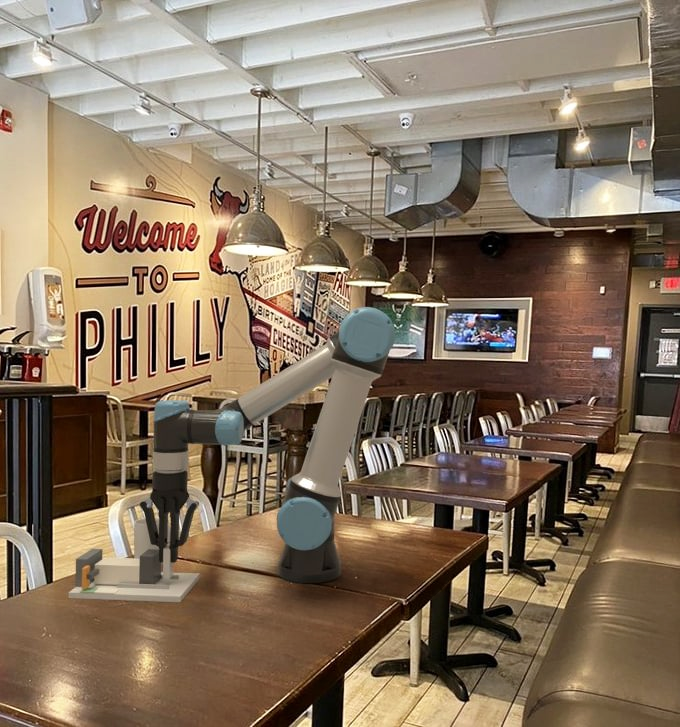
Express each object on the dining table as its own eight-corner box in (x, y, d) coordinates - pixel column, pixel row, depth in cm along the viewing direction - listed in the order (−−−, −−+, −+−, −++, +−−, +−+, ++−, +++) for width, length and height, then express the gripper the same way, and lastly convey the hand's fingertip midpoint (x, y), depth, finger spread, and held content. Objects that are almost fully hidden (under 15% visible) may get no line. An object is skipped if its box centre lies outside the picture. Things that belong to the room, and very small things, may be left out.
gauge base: (199, 578, 148) (200, 547, 148) (180, 602, 133) (180, 567, 133) (98, 575, 150) (98, 544, 150) (67, 598, 135) (68, 564, 135)
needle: (89, 586, 137) (90, 565, 137) (85, 589, 135) (85, 568, 135) (86, 586, 137) (86, 565, 137) (81, 589, 135) (82, 568, 135)
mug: (146, 577, 149) (147, 526, 149) (127, 572, 152) (128, 521, 152) (178, 566, 157) (179, 517, 157) (159, 561, 161) (160, 514, 161)
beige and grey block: (161, 577, 144) (161, 549, 144) (146, 592, 135) (146, 561, 135) (104, 575, 145) (105, 547, 145) (86, 590, 136) (86, 559, 136)
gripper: (203, 468, 145) (201, 572, 145) (147, 466, 145) (145, 570, 145) (194, 473, 137) (192, 583, 137) (135, 472, 138) (132, 581, 138)
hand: (167, 576), depth 141 cm, fingers closed
